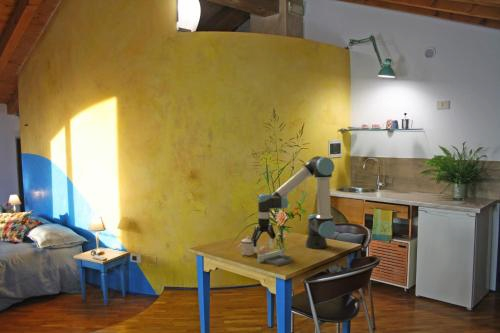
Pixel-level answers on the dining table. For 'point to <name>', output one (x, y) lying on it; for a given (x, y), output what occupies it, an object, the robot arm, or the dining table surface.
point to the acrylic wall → (270, 255)
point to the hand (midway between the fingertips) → (263, 249)
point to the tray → (278, 260)
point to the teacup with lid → (247, 246)
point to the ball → (263, 250)
